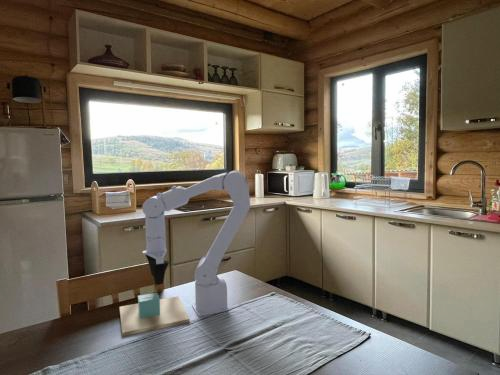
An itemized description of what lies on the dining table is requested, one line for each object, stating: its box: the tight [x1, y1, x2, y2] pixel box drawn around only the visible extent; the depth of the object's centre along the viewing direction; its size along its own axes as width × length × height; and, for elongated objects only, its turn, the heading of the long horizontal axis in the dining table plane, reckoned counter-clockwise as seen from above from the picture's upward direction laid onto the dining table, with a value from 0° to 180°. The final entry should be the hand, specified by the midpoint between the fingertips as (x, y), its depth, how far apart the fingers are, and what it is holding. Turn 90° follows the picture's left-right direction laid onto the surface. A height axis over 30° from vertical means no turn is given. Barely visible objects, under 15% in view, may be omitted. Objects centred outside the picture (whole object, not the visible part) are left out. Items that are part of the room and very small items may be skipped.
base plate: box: [119, 296, 191, 337], centre depth 98 cm, size 18×16×5 cm
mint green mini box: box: [137, 292, 161, 319], centre depth 98 cm, size 6×4×5 cm
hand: (157, 279), depth 102 cm, fingers open, 7 cm apart
